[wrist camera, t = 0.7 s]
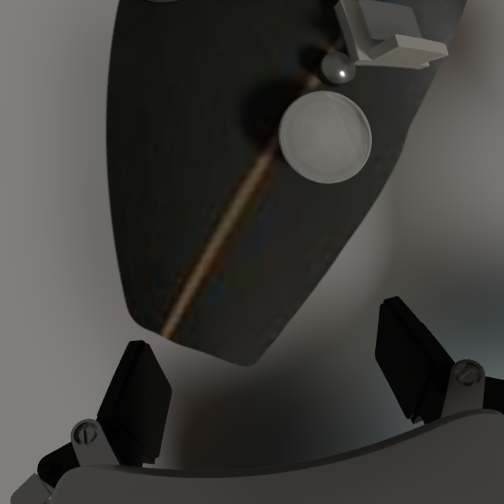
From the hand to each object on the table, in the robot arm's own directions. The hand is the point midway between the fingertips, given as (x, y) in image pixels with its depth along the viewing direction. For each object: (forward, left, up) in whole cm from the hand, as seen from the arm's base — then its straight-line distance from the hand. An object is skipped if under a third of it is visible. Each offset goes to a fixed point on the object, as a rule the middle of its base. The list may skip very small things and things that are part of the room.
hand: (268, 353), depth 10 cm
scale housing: (-22, +23, -28) cm, 43 cm away
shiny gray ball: (-16, +14, -28) cm, 36 cm away
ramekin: (-7, +10, -28) cm, 31 cm away
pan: (-23, +23, -25) cm, 41 cm away
